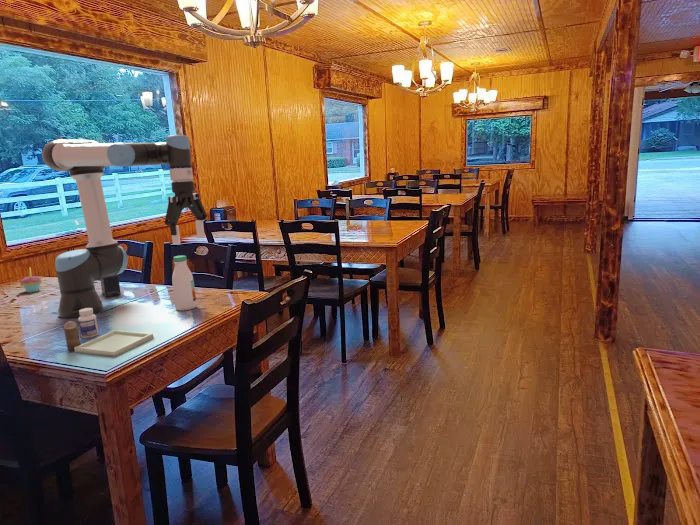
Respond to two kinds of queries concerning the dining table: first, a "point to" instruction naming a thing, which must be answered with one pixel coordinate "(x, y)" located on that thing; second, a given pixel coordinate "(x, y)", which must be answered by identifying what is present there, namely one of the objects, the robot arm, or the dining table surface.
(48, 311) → the dining table surface
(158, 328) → the dining table surface
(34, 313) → the dining table surface
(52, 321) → the dining table surface
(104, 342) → the tray
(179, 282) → the milk bottle
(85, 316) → the pill bottle
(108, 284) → the small box
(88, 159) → the robot arm
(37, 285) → the cupcake
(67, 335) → the pepper shaker
